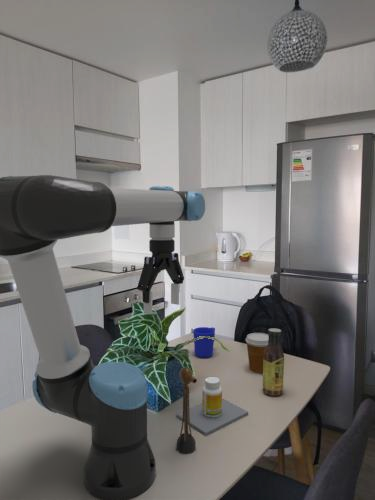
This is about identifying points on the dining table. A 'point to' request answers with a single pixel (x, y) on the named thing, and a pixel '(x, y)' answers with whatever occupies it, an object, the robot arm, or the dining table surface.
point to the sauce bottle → (273, 364)
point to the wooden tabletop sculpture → (186, 415)
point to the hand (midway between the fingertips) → (162, 308)
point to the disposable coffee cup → (256, 350)
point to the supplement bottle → (212, 397)
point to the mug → (204, 341)
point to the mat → (213, 424)
